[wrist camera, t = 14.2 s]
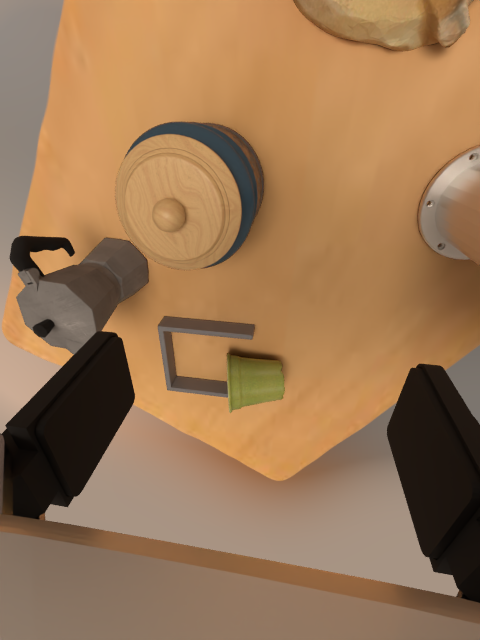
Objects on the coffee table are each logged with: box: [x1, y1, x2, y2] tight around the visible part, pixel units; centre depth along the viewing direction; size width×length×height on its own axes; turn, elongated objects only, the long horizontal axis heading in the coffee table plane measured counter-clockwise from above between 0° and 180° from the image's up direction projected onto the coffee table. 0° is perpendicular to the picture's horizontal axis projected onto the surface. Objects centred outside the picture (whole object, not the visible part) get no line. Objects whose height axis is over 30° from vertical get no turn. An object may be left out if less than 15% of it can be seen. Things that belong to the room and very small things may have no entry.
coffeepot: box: [10, 236, 148, 354], centre depth 39 cm, size 15×9×18 cm, turn 17°
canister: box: [115, 122, 264, 270], centre depth 31 cm, size 13×13×18 cm
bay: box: [158, 316, 255, 398], centre depth 52 cm, size 15×14×3 cm
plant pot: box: [227, 353, 285, 413], centre depth 50 cm, size 9×9×9 cm
